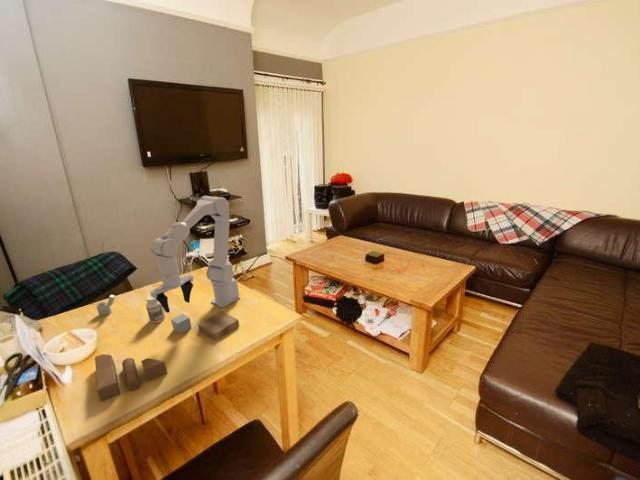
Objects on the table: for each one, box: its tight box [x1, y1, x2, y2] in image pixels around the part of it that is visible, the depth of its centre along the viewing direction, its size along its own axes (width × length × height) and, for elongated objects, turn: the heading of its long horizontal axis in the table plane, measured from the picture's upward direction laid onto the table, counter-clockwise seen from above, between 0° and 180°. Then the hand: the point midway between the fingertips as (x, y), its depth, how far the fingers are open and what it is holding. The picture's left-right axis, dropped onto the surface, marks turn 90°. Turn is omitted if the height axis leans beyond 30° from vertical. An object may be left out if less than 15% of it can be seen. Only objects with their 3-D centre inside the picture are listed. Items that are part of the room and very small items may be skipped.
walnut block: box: [197, 310, 240, 341], centre depth 115 cm, size 10×10×3 cm
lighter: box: [96, 294, 116, 316], centre depth 127 cm, size 7×2×8 cm, turn 98°
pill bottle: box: [145, 294, 166, 324], centre depth 121 cm, size 5×5×10 cm
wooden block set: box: [94, 353, 168, 403], centre depth 96 cm, size 17×6×18 cm
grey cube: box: [170, 313, 192, 335], centre depth 115 cm, size 4×4×4 cm
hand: (177, 306), depth 113 cm, fingers open, 7 cm apart
